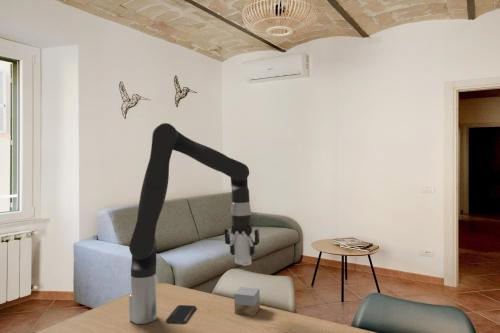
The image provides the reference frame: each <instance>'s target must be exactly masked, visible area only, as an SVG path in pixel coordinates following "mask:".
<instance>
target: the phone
mask: <svg viewBox="0 0 500 333" xmlns="http://www.w3.org/2000/svg"><path fill="white" fill-rule="evenodd" d="M196 309H197V306H196V305H186V304H184V305H183V304H180V305H177V306H176V307H175V308H174V310H173V311H172V312H171V313H170V314H169V315H168V317H167V318H166V319H165V323H166V324H174V323H175V324H180V325H184V324H187V322H188V320H189V319H190V317H191V316H192V315H193V314H194V313H195V312H196Z"/></svg>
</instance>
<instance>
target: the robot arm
mask: <svg viewBox="0 0 500 333" xmlns="http://www.w3.org/2000/svg"><path fill="white" fill-rule="evenodd" d="M173 151H175V152H177V153H181V154H182V155H186V156H187V157H189V158H191V159H193V160H195V161H196V162H198V163H200V164H201V165H204V166H206V167H208V168H211V169H212V170H215V171H216V172H219V173H222V174H224V175H226V176H228V177H230V183H231V184H230V186H231V208H230V209H231V228H229V227H227V228H224V230H223V233H224V244H225V245H229V253H230V255H231V256H234V242H235V240H236V237H237V235H238V234H245V235H246V240H247V242H249V244H250V256H251V257H253V256H254V255H255V253H256V250H255V249H256V246H257V245H259V244H260V229H259V228H256V229H255V228H252V214H251V213H252V210H251V202H250V189H249V187H248V181H249V180H248V178H249V176H250V170H249V167H248V165H246V164H245V163H243V162H241V161H239V160H236V159H234V158H231V157H229V156H227V155H225V154H224V153H222V152H220V151H218V150H216V149H214V148H212V147H210V146H208V145H204V144H201V143H199V142H197V141H194V140H193V139H190V138H189V137H187V136H185V135H184V134H182V133H181V132H179V130H177V128H176V127H175V126H173V125H172V124H171V123H167V122H165V123H164V122H162V123H160V124H158V125H156V127H155V128H154V129H153V131H152V138H151V149H150V155H149V160H148V164H147V166H146V170H145V172H144V173H145V174H144V178H143V181H142V185H141V190H140V195H139V202H138V208H137V218H136V221H135V222H136V223H135V226H134V230H133V232H132V235H131V238H130V240H129V245H128V248H129V252H130V255H131V266H130V288H131V289H130V290H131V291H130V292H131V293H130V295H129V297H128V303H129V304H128V309H129V310H128V312H129V314H128V315H129V318H128V319H129V322H132V323H134V324H137V325H145V324H150V323H152V322H154V321H156V320H157V319H158V310H157V308H158V307H157V306H158V305H157V303H158V300H157V298H158V297H157V296H158V295H157V239H156V230H157V225H158V221H159V218H160V215H161V213H162V209H163V207H164V204H165V200H166V196H167V192H168V187H169V178H170V177H169V176H170V161H171V157H172V154H173ZM231 233H232V238H231ZM252 233H253V235H254V240H253V237H252V235H251V234H252ZM233 235H234V236H233ZM249 235H250V238H249V237H248V236H249ZM247 238H248V239H247Z"/></svg>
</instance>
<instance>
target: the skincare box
mask: <svg viewBox="0 0 500 333" xmlns="http://www.w3.org/2000/svg"><path fill="white" fill-rule="evenodd" d="M250 235H251V234H250ZM250 235H249V236H248V237H249V238H250ZM233 236H234V235H233V234H232V237H233ZM247 239H248V238H247ZM233 256H234V263H235V264H237V265H239V266H243V267H244V266H245V267H246V266H249V265H252V256H250V244H249V242H247V240H246V235H245V234H238V235H237V237H236V240H235V242H234V255H233Z"/></svg>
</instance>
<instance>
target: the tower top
mask: <svg viewBox="0 0 500 333" xmlns="http://www.w3.org/2000/svg"><path fill="white" fill-rule="evenodd" d="M260 293H261V292H260V288H255V287H243V286H241V287H240V288H238V290H237V291H235V293H234V296H233V298H234V301H233V302H234V305H235V304H238V305H248V306H255V304H256V303H257V301H258V300H259V299H261V298H260Z"/></svg>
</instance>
